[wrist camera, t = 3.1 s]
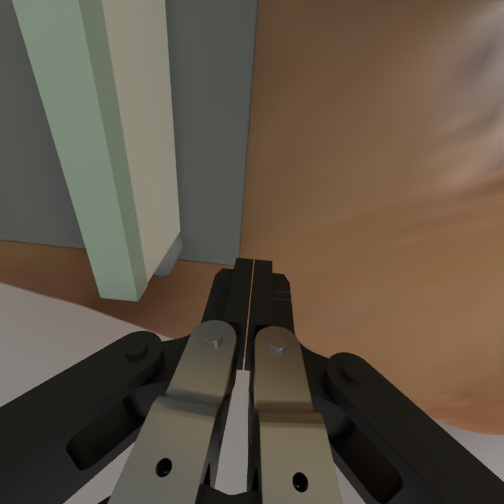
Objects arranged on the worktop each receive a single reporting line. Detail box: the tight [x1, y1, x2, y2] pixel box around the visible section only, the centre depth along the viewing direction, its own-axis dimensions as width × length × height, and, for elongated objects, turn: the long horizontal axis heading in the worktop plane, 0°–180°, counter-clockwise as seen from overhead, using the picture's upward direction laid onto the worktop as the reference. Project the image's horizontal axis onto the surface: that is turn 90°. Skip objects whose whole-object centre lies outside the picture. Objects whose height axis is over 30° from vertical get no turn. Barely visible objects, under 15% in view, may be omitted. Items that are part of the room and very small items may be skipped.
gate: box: [12, 0, 180, 302], centre depth 12 cm, size 15×2×7 cm, turn 175°
